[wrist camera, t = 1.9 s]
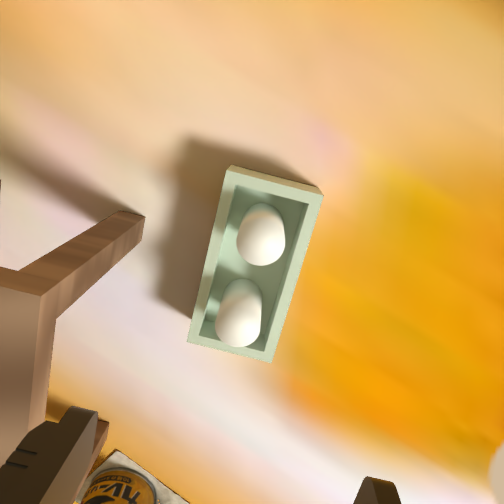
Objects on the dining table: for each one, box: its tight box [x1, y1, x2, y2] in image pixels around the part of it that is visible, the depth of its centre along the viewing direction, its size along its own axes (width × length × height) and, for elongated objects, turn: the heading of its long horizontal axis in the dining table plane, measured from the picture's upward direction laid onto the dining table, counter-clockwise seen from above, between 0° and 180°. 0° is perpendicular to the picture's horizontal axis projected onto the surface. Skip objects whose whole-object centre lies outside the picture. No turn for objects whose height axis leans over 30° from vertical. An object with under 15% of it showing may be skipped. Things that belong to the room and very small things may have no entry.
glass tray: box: [187, 165, 324, 363], centre depth 27 cm, size 12×6×5 cm, turn 166°
